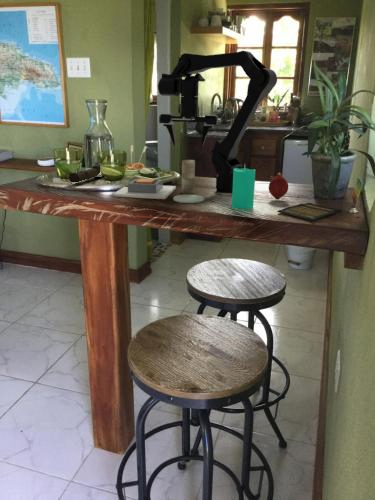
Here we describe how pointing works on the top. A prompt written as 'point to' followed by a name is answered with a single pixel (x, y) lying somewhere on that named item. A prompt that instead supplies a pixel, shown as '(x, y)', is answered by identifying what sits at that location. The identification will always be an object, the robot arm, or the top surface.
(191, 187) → the tan cylinder
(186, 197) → the mat
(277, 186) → the onion
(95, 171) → the dark brown elongated bar
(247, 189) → the candle
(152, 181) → the button
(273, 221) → the top surface
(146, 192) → the white flat square slab
